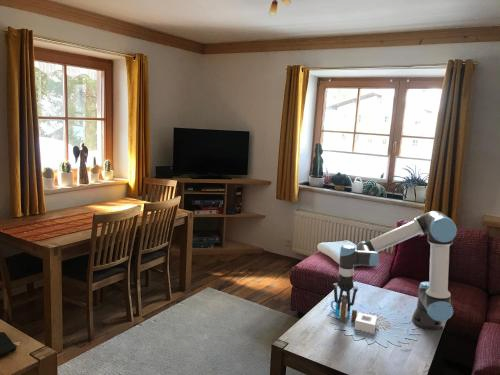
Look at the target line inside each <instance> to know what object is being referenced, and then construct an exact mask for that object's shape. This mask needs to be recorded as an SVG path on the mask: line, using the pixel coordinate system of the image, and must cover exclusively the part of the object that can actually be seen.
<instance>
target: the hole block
mask: <svg viewBox="0 0 500 375" xmlns="http://www.w3.org/2000/svg"><path fill="white" fill-rule="evenodd" d="M377 321H378V316H377V315H373V314H369V313H368V314H367V313H363V312H358V311H357V317H356V320H355V322H354V330H356V329H357V330H358V331H360V330H361V332H364V331H365V332H364V333H368V332H370V333H369V334H375V331H376V328H377Z"/></svg>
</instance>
